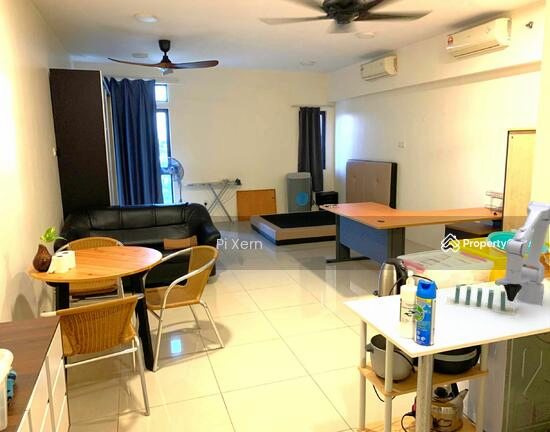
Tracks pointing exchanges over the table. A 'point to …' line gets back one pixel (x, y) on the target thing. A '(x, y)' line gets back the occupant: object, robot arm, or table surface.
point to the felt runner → (483, 305)
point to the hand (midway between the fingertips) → (510, 300)
